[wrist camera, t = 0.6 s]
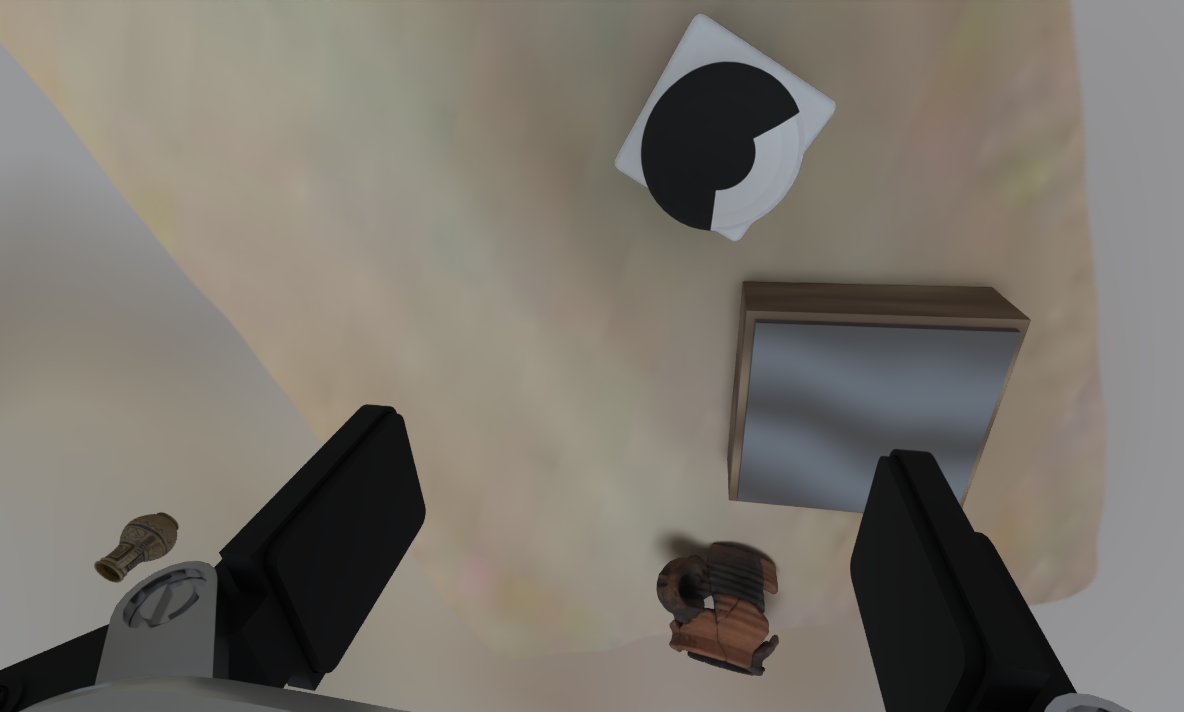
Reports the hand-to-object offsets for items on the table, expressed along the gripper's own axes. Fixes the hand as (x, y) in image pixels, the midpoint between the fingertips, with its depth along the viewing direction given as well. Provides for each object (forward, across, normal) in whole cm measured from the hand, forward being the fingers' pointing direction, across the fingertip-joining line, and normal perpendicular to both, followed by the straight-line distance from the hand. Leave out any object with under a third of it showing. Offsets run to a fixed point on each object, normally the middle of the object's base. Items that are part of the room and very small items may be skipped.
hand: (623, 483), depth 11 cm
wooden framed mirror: (+25, -11, +12) cm, 30 cm away
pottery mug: (+26, -4, +30) cm, 40 cm away
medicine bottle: (+26, -2, -4) cm, 26 cm away
